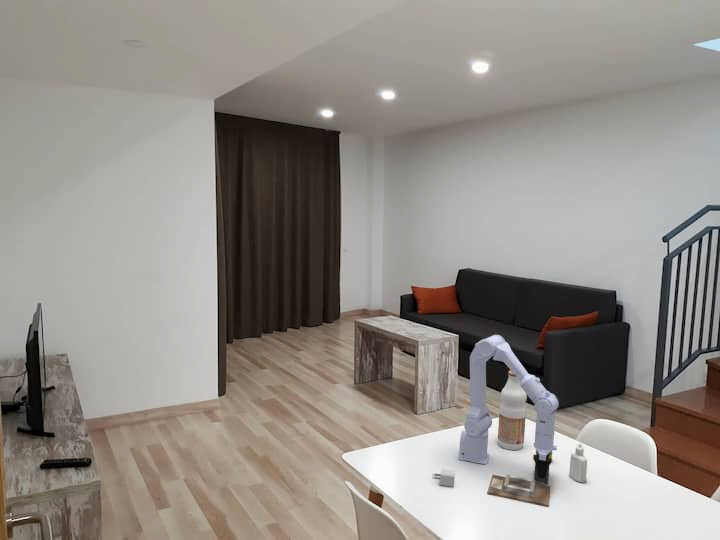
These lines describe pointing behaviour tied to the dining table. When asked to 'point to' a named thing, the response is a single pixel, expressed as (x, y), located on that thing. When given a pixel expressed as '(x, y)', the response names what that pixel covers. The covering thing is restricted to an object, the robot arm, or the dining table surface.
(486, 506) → the dining table surface
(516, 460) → the dining table surface
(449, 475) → the usb wall charger
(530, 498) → the socket dock
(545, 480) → the plug
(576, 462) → the eye dropper bottle
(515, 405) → the fruit juice
